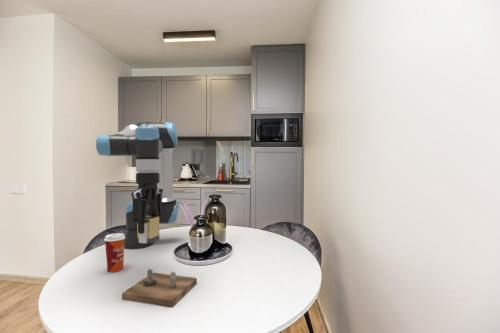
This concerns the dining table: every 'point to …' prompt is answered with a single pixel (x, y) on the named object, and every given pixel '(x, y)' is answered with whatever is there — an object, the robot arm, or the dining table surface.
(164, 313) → the dining table surface
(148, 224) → the sleeve
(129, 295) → the pin board
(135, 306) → the dining table surface
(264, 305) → the dining table surface
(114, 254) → the paper cup
